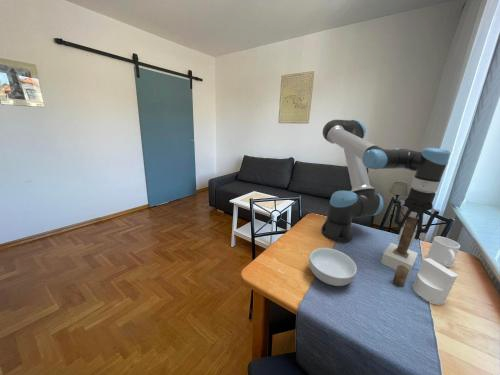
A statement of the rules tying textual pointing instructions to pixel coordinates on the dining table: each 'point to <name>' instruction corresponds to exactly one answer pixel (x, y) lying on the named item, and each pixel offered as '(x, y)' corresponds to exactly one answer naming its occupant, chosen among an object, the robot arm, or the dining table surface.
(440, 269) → the base with upright slab
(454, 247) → the mug
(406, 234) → the long dowel
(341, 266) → the cereal bowl
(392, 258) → the hole block
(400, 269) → the short dowel
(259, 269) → the dining table surface
